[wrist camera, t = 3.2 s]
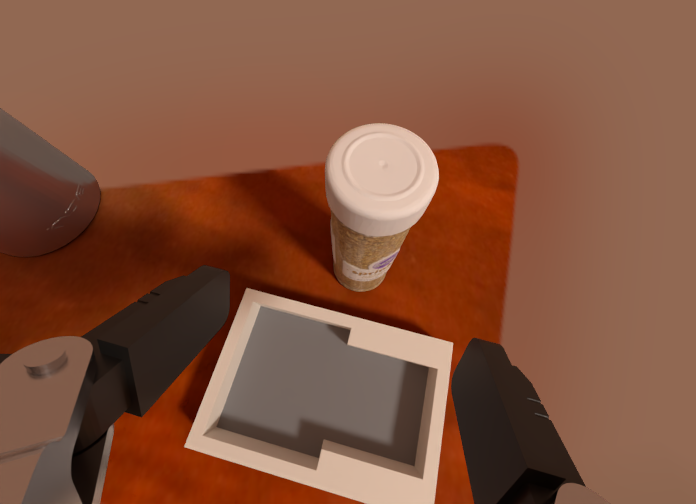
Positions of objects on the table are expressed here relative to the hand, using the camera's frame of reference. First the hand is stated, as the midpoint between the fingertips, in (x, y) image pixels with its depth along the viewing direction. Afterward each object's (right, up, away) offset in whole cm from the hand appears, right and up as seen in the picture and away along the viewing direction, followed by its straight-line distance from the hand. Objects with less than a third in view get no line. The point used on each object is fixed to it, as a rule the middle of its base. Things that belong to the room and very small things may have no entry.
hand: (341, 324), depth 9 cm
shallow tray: (-1, -7, +11) cm, 13 cm away
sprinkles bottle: (+1, +1, +14) cm, 14 cm away
